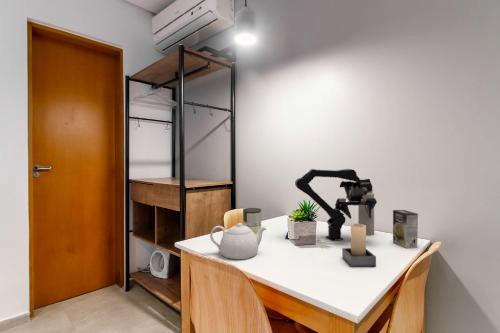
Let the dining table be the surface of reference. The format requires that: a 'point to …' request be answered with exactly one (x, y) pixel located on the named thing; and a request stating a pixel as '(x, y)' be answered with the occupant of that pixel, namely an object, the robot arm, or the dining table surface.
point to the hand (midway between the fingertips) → (360, 218)
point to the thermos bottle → (364, 217)
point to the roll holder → (359, 259)
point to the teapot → (238, 241)
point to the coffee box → (405, 228)
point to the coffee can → (252, 219)
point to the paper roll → (358, 240)
